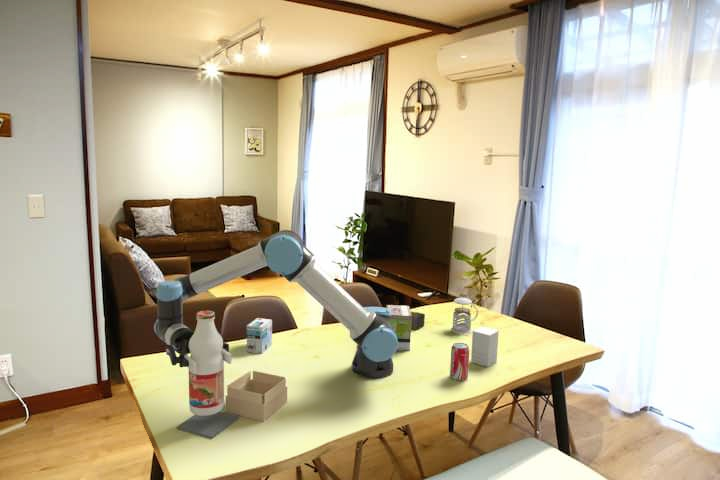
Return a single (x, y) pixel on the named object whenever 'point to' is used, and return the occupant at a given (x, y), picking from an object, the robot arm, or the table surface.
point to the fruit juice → (206, 367)
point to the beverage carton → (417, 320)
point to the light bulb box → (259, 335)
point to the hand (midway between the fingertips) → (213, 363)
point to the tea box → (401, 325)
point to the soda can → (459, 361)
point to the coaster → (208, 424)
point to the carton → (256, 395)
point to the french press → (462, 316)
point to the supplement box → (484, 346)
